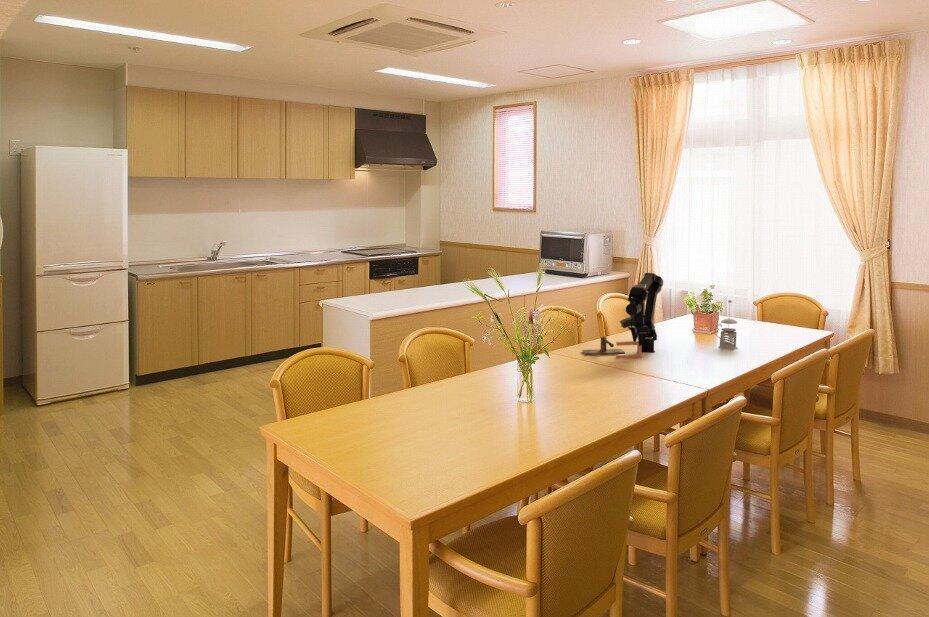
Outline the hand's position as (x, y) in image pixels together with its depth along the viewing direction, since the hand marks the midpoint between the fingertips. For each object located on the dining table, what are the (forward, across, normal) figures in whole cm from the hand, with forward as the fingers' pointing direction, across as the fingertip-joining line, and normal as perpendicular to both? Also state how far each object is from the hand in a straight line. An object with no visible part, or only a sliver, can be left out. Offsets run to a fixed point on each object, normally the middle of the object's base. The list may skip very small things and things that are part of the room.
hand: (637, 343), depth 345 cm
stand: (+7, -4, -14) cm, 16 cm away
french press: (+7, -17, +52) cm, 55 cm away
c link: (+7, 0, -4) cm, 8 cm away
